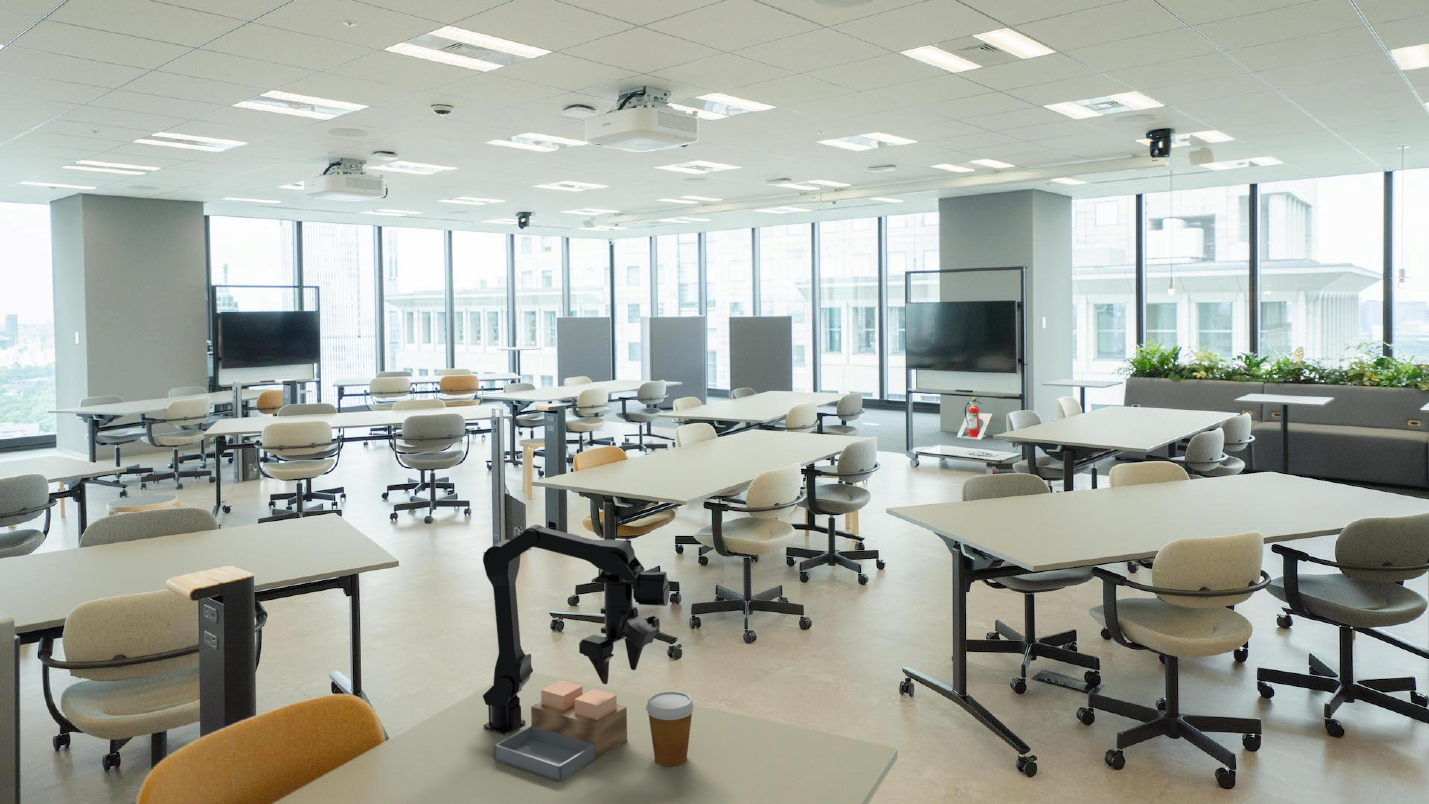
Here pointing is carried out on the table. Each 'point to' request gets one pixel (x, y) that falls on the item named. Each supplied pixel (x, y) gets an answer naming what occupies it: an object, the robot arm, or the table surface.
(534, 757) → the tray
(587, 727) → the brown wooden block
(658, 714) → the disposable coffee cup
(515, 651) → the robot arm
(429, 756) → the table surface
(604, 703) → the tile
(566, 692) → the tile
